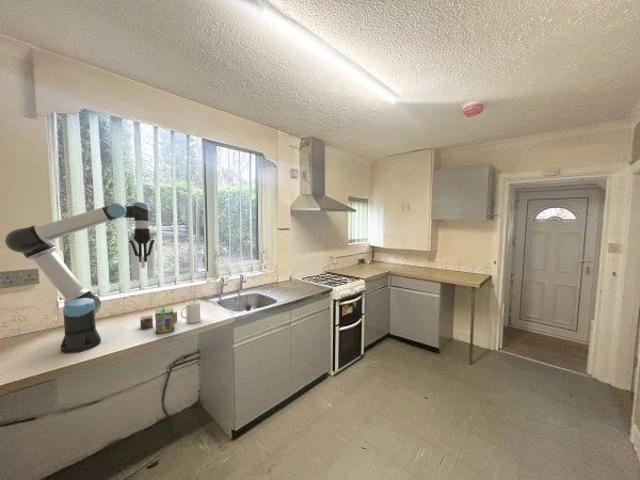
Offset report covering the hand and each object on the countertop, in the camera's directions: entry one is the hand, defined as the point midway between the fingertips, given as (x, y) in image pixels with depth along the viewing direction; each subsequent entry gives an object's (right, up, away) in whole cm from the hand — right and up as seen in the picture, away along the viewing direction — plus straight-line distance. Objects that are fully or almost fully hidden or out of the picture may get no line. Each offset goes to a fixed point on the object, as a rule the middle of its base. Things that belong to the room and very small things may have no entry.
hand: (143, 267), depth 156 cm
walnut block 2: (+11, -36, +9) cm, 39 cm away
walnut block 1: (+1, -37, +2) cm, 37 cm away
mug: (+23, -36, +11) cm, 44 cm away
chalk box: (+15, -37, -2) cm, 40 cm away
